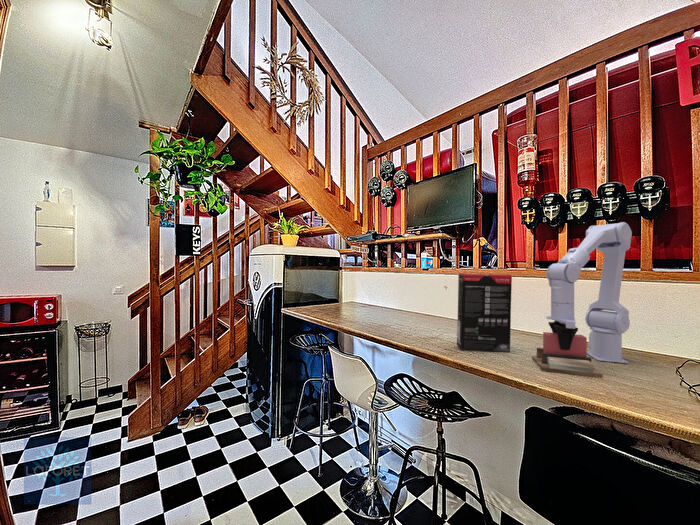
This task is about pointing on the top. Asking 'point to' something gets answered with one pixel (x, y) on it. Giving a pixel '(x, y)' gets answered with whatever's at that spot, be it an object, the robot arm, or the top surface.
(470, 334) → the graphics card box
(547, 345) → the red rectangular block
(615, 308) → the robot arm
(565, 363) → the rack
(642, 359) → the top surface
